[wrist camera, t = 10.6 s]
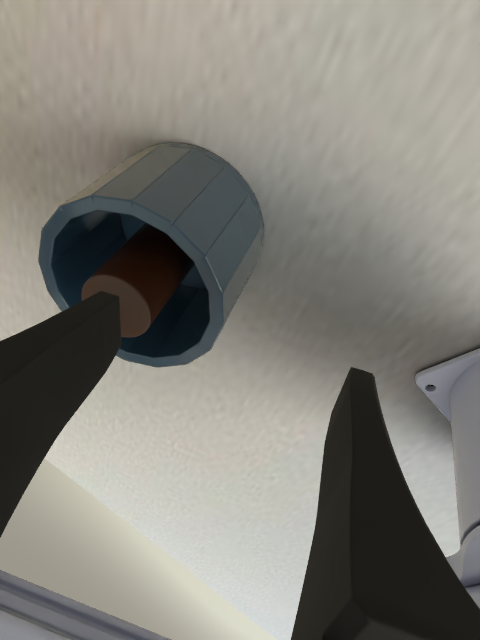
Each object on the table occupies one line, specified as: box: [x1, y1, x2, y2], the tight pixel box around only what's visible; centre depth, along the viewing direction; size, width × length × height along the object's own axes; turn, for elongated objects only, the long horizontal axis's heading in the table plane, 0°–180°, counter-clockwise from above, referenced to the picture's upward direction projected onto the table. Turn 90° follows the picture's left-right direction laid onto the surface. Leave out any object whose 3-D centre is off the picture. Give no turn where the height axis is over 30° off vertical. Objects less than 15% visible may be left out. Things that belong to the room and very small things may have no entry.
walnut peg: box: [82, 223, 194, 337], centre depth 21 cm, size 3×3×7 cm
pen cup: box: [38, 143, 264, 367], centre depth 21 cm, size 8×8×6 cm
